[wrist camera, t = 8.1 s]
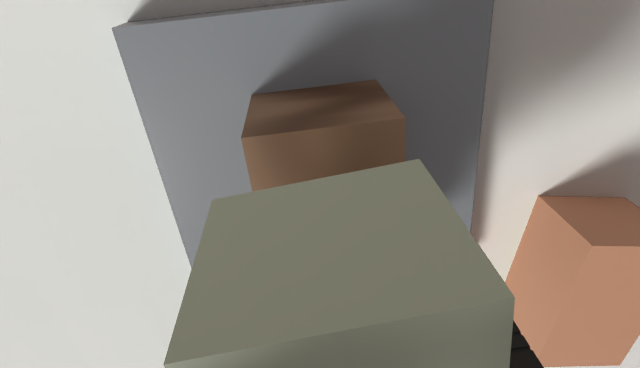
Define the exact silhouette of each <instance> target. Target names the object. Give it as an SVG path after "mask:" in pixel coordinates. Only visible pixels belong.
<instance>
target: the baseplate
mask: <svg viewBox="0 0 640 368" xmlns="http://www.w3.org/2000/svg"><path fill="white" fill-rule="evenodd" d="M493 3H494V0H315V1H306V2H298V3H289V4H281V5H272V6H264V7H255V8H247V9H238V10H230V11H221V12H212V13H204V14H195V15H187V16H178V17H170V18H161V19H153V20H144V21H135V22H127V23H124V24H121V25H119V26H116V27H113V28H112V31H113V34H114V37H115V40H116V43H117V46H118V49H119V52H120V55H121V58H122V61H123V64H124V67H125V70H126V73H127V76H128V79H129V82H130V85H131V88H132V91H133V94H134V97H135V100H136V103H137V106H138V109H139V112H140V115H141V118H142V121H143V124H144V127H145V130H146V133H147V136H148V139H149V142H150V145H151V148H152V151H153V154H154V157H155V160H156V163H157V166H158V169H159V172H160V175H161V178H162V181H163V184H164V187H165V190H166V193H167V196H168V199H169V202H170V205H171V208H172V211H173V214H174V217H175V220H176V223H177V226H178V229H179V232H180V235H181V238H182V241H183V244H184V247H185V250H186V253H187V256H188V259H189V262H190V265H191V268H192V267H193V263H194V260H195V257H196V253H197V250H198V246H199V243H200V240H201V236H202V233H203V229H204V226H205V223H206V219H207V216H208V213H209V209H210V206H211V202H212V200H213V199H218V198H223V197H228V196H233V195H238V194H244V193H249V192H252V188H251V183H250V179H249V174H248V169H247V164H246V160H245V155H244V150H243V146H242V141H241V136H242V132H243V128H244V124H245V119H246V115H247V111H248V107H249V103H250V99H251V95H253V94H261V93H269V92H277V91H286V90H294V89H302V88H311V87H319V86H327V85H335V84H344V83H352V82H360V81H369V80H377V81H378V83H379V84H380V85H381V87H382V88H383V89H384V90H385V92H386V93H387V94H388V96H389V97H390V98H391V100H392V101H393V102H394V103H395V105H396V106H397V107H398V109H399V110H400V111H401V113H402V114H403V115H404V117H405V118H406V133H405V161H410V160H415V159H420V160H421V162H422V163H423V165H424V166H425V167H426V169H427V170H428V172H429V173H430V175H431V176H432V178H433V179H434V181H435V182H436V183H437V185H438V186H439V188H440V189H441V191H442V192H443V194H444V195H445V197H446V198H447V199H448V201H449V202H450V204H451V205H452V207H453V208H454V210H455V211H456V213H457V214H458V215H459V217H460V218H461V220H462V221H463V223H464V224H465V226H466V227H467V229H468V230H469V231H470V230H471V220H472V211H473V201H474V191H475V181H476V171H477V161H478V151H479V141H480V131H481V122H482V112H483V102H484V92H485V82H486V72H487V62H488V52H489V43H490V33H491V23H492V13H493Z"/></svg>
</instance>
